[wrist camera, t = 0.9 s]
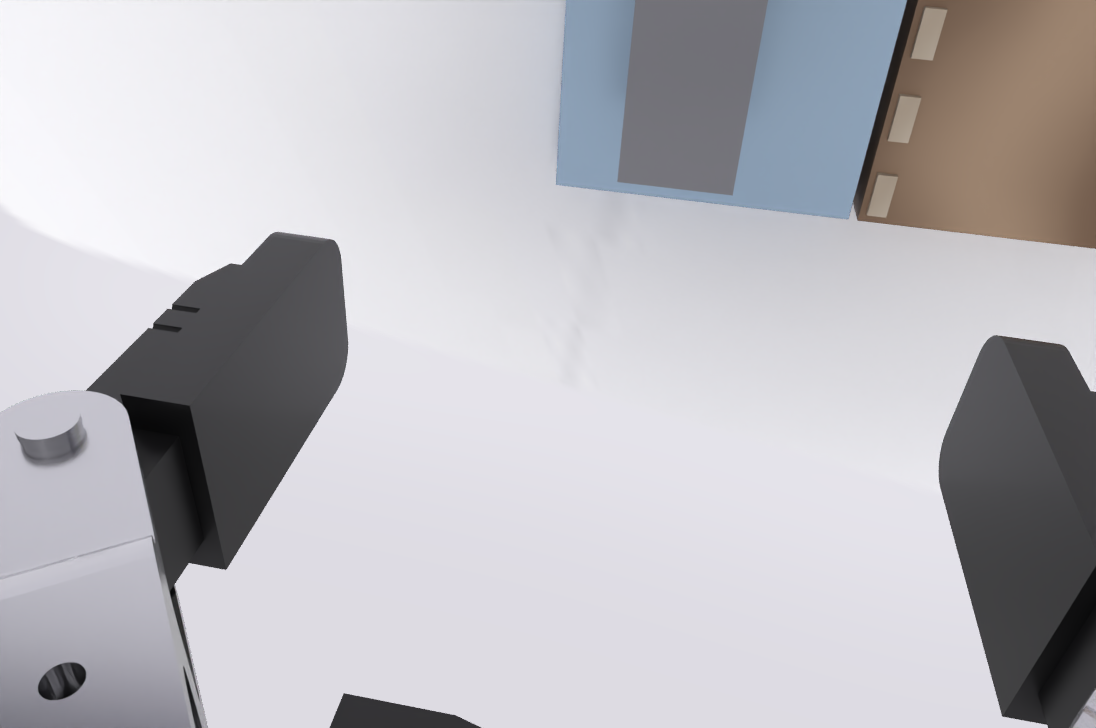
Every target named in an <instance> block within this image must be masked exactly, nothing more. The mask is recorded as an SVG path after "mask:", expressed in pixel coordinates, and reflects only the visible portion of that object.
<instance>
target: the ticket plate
mask: <svg viewBox="0 0 1096 728" xmlns="http://www.w3.org/2000/svg"><path fill="white" fill-rule="evenodd" d="M853 203H854V208H855V212H856V216H857V220H858V221H866V222H875V223H883V224H892V225H900V226H909V227H917V228H926V229H934V230H942V231H951V232H959V233H968V234H976V235H985V236H993V237H1002V238H1010V239H1019V240H1027V241H1035V242H1044V243H1052V244H1061V245H1069V246H1078V247H1086V248H1095V249H1096V0H907V2H906V6H905V10H904V14H903V17H902V21H901V25H900V28H899V32H898V36H897V40H896V43H895V47H894V51H893V54H892V58H891V62H890V66H889V69H888V73H887V77H886V81H885V84H884V88H883V92H882V95H881V99H880V103H879V107H878V110H877V114H876V118H875V121H874V125H873V129H872V133H871V136H870V140H869V144H868V148H867V151H866V155H865V159H864V162H863V166H862V170H861V174H860V177H859V181H858V185H857V188H856V192H855V196H854V200H853Z"/></svg>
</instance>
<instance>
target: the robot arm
mask: <svg viewBox="0 0 1096 728" xmlns="http://www.w3.org/2000/svg"><path fill="white" fill-rule="evenodd" d="M347 354H348V336H347V323H346V311H345V299H344V288H343V276H342V264H341V255H340V251H339V248H338V245H337V244H336V242H335V241H334V240H331V239H325V238H318V237H311V236H303V235H296V234H289V233H282V232H275V233H272V234H271V235H270V236H269V237H268V238H267V239H266V240H265V241H264V242H263V243H262V244H261V245H260V246H259V247H258V248H257V250H256V251H255V252H254V253H253V254H252V255H251V256H250V257H249V258H248V259H247V260H246V261H245V262H244V263H243V264H242V265H237V264H229V265H227V266H225V267H223V268H221V269H219V270H217V271H215V272H213V273H211V274H209V275H207V276H205V277H203V278H201V279H199V280H197V281H195V282H194V283H193V284H192V285H191V286H190V287H189V288H188V289H187V290H186V291H185V292H184V293H183V294H182V295H181V296H180V297H179V298H178V299H177V300H176V301H175V302H174V303H173V304H172V309H167V310H166V311H165V312H164V313H163V314H162V315H161V316H160V317H159V318H158V319H157V320H156V321H155V322H154V324H153V329H151V328H148V329H147V330H146V331H145V332H144V333H143V334H142V335H141V336H140V337H139V338H138V339H137V340H136V341H135V342H134V343H133V344H132V345H131V346H130V347H129V348H128V349H127V350H126V351H125V352H124V353H123V354H122V355H121V356H120V357H119V358H118V359H117V360H116V361H115V362H114V363H113V364H112V365H111V366H110V367H109V368H108V369H107V370H106V371H105V372H104V373H103V374H102V375H101V376H100V377H99V378H98V379H97V380H96V381H95V382H94V383H93V384H92V385H91V386H90V387H89V388H88V389H87V390H86V391H76V390H73V391H60V392H55V393H48V394H44V395H40V396H36V397H33V398H30V399H27V400H24V401H22V402H19V403H17V404H15V405H13V406H11V407H9V408H7V409H5V410H4V411H2V412H0V728H208V726H207V721H206V717H205V713H204V708H203V704H202V699H201V695H200V690H199V686H198V682H197V677H196V673H195V668H194V664H193V659H192V655H191V651H190V646H189V642H188V637H187V633H186V628H185V624H184V620H183V616H182V611H181V607H180V602H179V598H178V594H177V590H176V587H175V583H176V581H177V580H178V578H179V577H180V575H181V574H182V572H183V571H184V569H185V568H186V566H187V565H188V563H192V564H198V565H203V566H209V567H214V568H219V569H225V570H226V569H227V568H228V566H229V564H230V563H231V561H232V560H233V558H234V556H235V555H236V553H237V552H238V550H239V548H240V547H241V545H242V543H243V542H244V540H245V538H246V537H247V535H248V533H249V532H250V530H251V529H252V527H253V526H254V524H255V522H256V521H257V519H258V517H259V516H260V514H261V513H262V511H263V509H264V507H265V506H266V504H267V503H268V501H269V500H270V498H271V496H272V495H273V493H274V491H275V490H276V488H277V487H278V485H279V483H280V482H281V480H282V479H283V477H284V475H285V474H286V472H287V470H288V469H289V467H290V466H291V464H292V462H293V461H294V459H295V457H296V456H297V454H298V452H299V451H300V449H301V448H302V446H303V445H304V443H305V441H306V439H307V438H308V436H309V435H310V433H311V431H312V430H313V428H314V427H315V425H316V423H317V422H318V420H319V418H320V417H321V415H322V414H323V412H324V410H325V409H326V407H327V406H328V404H329V402H330V401H331V399H332V397H333V396H334V394H335V393H336V391H337V389H338V387H339V386H340V383H341V381H342V378H343V375H344V371H345V367H346V362H347ZM939 483H940V488H941V492H942V495H943V499H944V503H945V506H946V510H947V514H948V517H949V521H950V525H951V529H952V532H953V536H954V539H955V543H956V547H957V551H958V554H959V558H960V562H961V565H962V569H963V573H964V577H965V580H966V584H967V588H968V591H969V595H970V599H971V602H972V606H973V610H974V613H975V617H976V621H977V624H978V628H979V632H980V636H981V639H982V643H983V647H984V650H985V654H986V658H987V662H988V665H989V669H990V673H991V676H992V680H993V684H994V687H995V691H996V695H997V698H998V702H999V705H1000V710H1001V713H1002V716H1003V717H1009V718H1015V719H1019V720H1025V721H1030V722H1036V723H1041V724H1047V725H1048V728H1096V392H1092V391H1090V389H1089V388H1088V386H1087V384H1086V382H1085V380H1084V378H1083V377H1082V375H1081V373H1080V371H1079V369H1078V367H1077V365H1076V364H1075V362H1074V360H1073V358H1072V356H1071V354H1070V353H1069V351H1068V349H1067V348H1066V347H1065V346H1063V345H1060V344H1054V343H1047V342H1040V341H1033V340H1026V339H1019V338H1012V337H1005V336H998V335H996V336H992V337H991V338H989V339H988V340H987V341H986V343H985V344H984V346H983V347H982V349H981V351H980V353H979V356H978V358H977V360H976V363H975V365H974V367H973V370H972V372H971V374H970V377H969V379H968V382H967V384H966V386H965V389H964V391H963V393H962V396H961V398H960V401H959V403H958V405H957V408H956V410H955V412H954V415H953V417H952V419H951V422H950V424H949V427H948V429H947V431H946V434H945V437H944V440H943V443H942V447H941V452H940V459H939ZM330 728H481V727H479V726H476V725H474V724H472V723H470V722H468V721H466V720H464V719H462V718H460V717H458V716H456V715H450V714H445V713H441V712H436V711H430V710H425V709H420V708H415V707H410V706H405V705H400V704H395V703H389V702H385V701H380V700H374V699H370V698H365V697H360V696H354V695H349V694H343V697H342V699H341V702H340V704H339V706H338V709H337V711H336V714H335V716H334V719H333V721H332V723H331V726H330Z"/></svg>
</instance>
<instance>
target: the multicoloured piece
mask: <svg viewBox="0 0 1096 728" xmlns="http://www.w3.org/2000/svg"><path fill="white" fill-rule="evenodd" d="M906 2H907V0H566V14H565V31H564V49H563V67H562V85H561V103H560V121H559V138H558V156H557V174H556V185H562V186H571V187H579V188H587V189H596V190H604V191H613V192H621V193H630V194H638V195H647V196H655V197H664V198H672V199H680V200H689V201H697V202H706V203H714V204H723V205H731V206H740V207H748V208H757V209H765V210H773V211H782V212H790V213H799V214H807V215H816V216H824V217H833V218H841V219H848V218H849V215H850V211H851V207H852V203H853V200H854V196H855V192H856V188H857V185H858V181H859V177H860V174H861V170H862V166H863V162H864V159H865V155H866V151H867V148H868V144H869V140H870V136H871V133H872V129H873V125H874V121H875V118H876V114H877V110H878V107H879V103H880V99H881V95H882V92H883V88H884V84H885V81H886V77H887V73H888V69H889V66H890V62H891V58H892V54H893V51H894V47H895V43H896V40H897V36H898V32H899V28H900V25H901V21H902V17H903V14H904V10H905V6H906Z"/></svg>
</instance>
